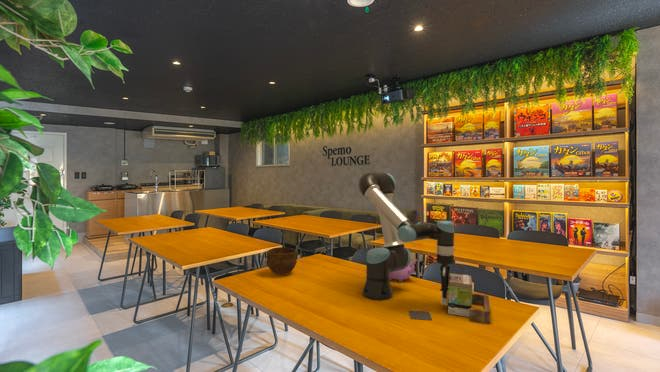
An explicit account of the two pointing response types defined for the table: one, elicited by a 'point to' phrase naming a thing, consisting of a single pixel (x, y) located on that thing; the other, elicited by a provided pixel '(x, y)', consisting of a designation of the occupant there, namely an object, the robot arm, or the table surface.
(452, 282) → the tea box
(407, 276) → the teapot
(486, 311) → the display bay
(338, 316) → the table surface
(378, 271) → the robot arm
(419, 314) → the rubber coaster
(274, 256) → the bowl
